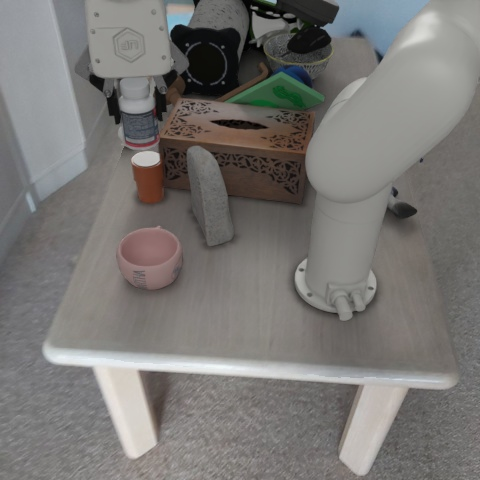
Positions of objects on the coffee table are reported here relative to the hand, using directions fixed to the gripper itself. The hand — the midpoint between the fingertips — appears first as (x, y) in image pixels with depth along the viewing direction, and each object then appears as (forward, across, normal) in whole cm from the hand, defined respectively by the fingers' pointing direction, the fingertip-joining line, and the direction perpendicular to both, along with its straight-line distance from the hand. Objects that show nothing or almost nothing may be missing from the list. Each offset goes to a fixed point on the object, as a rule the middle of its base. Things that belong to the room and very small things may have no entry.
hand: (138, 117), depth 79 cm
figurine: (+10, +30, +57) cm, 65 cm away
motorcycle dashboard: (+10, +34, +67) cm, 75 cm away
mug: (+21, 0, -9) cm, 23 cm away
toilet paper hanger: (+13, +16, +40) cm, 45 cm away
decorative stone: (+21, +10, 0) cm, 23 cm away
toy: (+14, +28, +24) cm, 39 cm away
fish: (+19, +42, +9) cm, 47 cm away
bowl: (+21, +37, +52) cm, 67 cm away
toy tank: (+16, +31, +69) cm, 77 cm away
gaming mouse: (+13, +38, +51) cm, 65 cm away
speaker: (+21, +18, +58) cm, 65 cm away
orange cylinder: (+21, 0, +11) cm, 24 cm away
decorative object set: (+21, +5, +29) cm, 37 cm away
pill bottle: (+4, 0, 0) cm, 4 cm away
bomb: (+14, +31, +33) cm, 47 cm away
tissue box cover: (+21, +17, +15) cm, 31 cm away
